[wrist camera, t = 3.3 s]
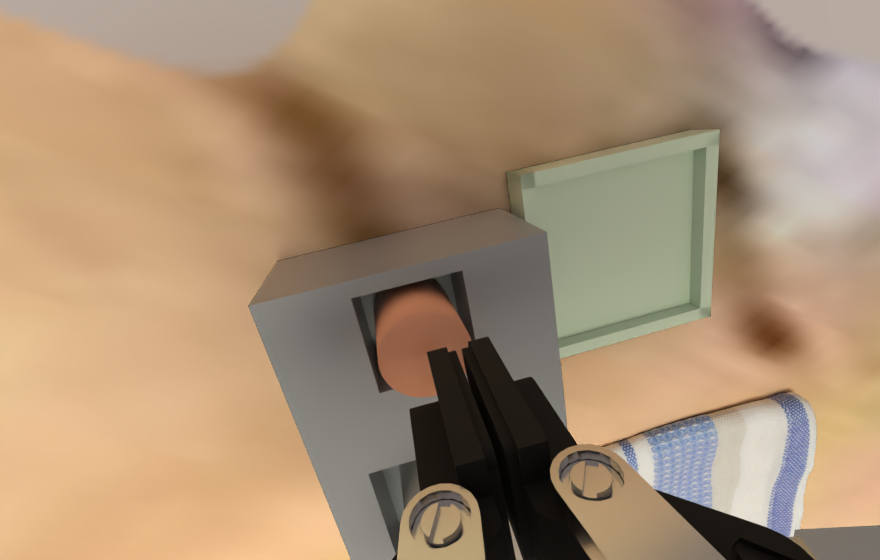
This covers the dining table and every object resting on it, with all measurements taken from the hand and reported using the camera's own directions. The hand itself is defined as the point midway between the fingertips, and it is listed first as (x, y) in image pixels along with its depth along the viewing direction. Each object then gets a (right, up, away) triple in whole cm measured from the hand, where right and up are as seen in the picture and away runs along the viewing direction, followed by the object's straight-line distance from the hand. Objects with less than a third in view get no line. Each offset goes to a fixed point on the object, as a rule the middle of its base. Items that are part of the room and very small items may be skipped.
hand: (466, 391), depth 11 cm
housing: (-1, -2, +10) cm, 10 cm away
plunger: (-2, +2, +6) cm, 6 cm away
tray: (+7, +5, +9) cm, 13 cm away
